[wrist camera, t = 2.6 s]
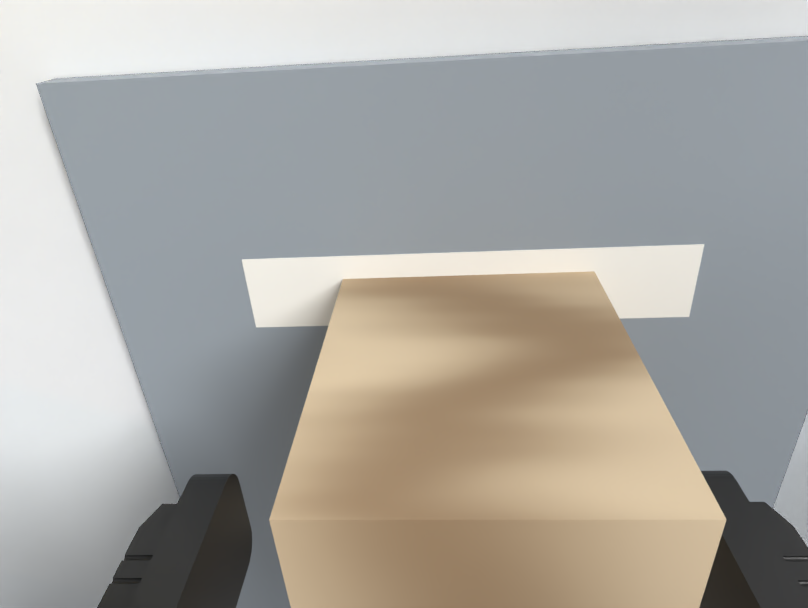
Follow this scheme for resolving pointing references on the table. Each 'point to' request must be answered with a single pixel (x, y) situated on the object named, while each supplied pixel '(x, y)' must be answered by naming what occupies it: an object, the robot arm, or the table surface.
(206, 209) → the letter board
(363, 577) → the oak block
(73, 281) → the table surface
